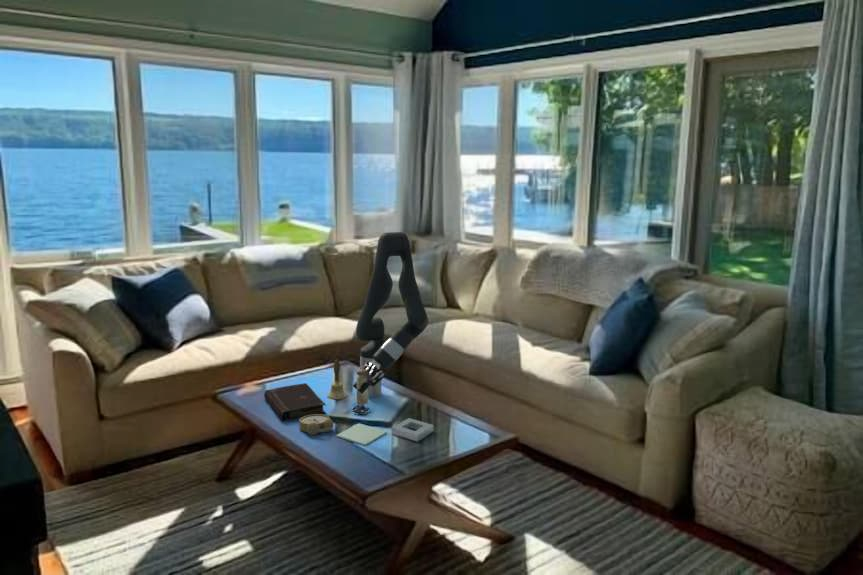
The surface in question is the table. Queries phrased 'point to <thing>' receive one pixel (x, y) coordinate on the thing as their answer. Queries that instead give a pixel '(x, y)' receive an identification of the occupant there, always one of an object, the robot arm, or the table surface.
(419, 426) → the block
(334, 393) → the hand bell
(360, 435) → the tile
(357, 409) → the beaded bracelet pile
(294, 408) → the diary
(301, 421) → the alarm clock
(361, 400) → the peg
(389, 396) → the table surface
